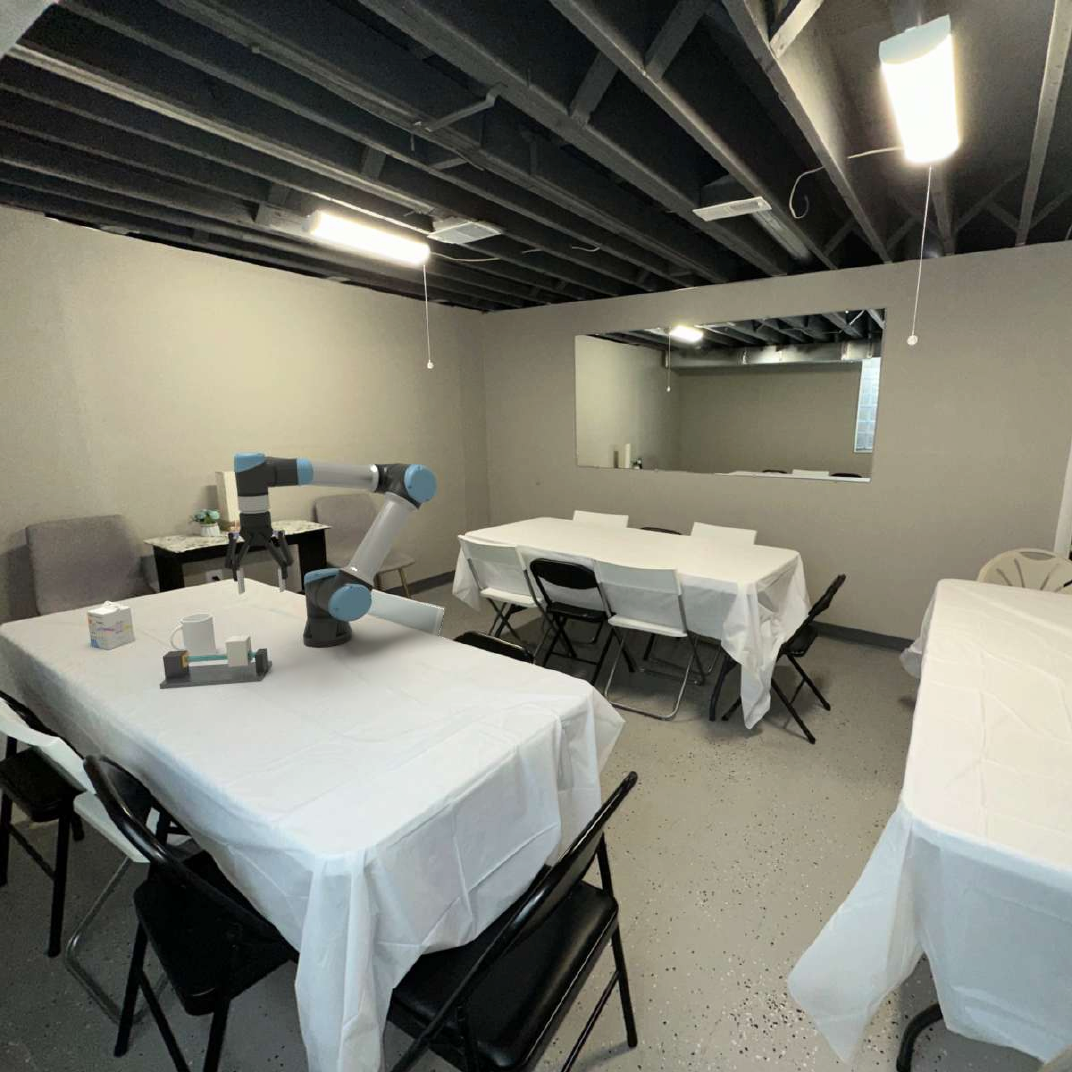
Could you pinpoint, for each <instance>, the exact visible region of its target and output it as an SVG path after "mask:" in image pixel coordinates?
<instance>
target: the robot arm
mask: <svg viewBox="0 0 1072 1072" xmlns="http://www.w3.org/2000/svg"><path fill="white" fill-rule="evenodd" d="M233 469H234V470H233V471H234V472H233V473H234V478H235V486H236V487H235V488H236V495H237V496H236V497H237V507H238V511H239V514H238V517H239V526H240V529H239V531H234V530H232V531H230V532H229V533H227V538H228V546H227V549H226V555H225V562H224V565H223V567H224V569H230V570H231V571H232V575H233V577H232V578H233V581H234V582H236V583H237V589H238V594H239V595H242V594H244V593H245V592H246V585H245V578H244V577H245V575H244V568H242V567H241V565H242V563H243V561H244V559H245V557H246V554H247V552H248V551H249V550H250V549H249V548H251V547H256V546H259V547H260V546H261V547H263V546H264V547H265V549H267V550H268V552H269V554H270V555H271V556H272V557H273V558H274V560H275V561H276V562H277V564H278V565H279V567H278V568H277V574H278V576H277V577H278V586H279V593H283V592H284V591H285V590H286V582H285V580H287V579H288V577H289V572H288V567H290V566H292V565H293V564H294V563H295V560H294V557H293V555H292V552H291V550H290V547H289V545H288V542H287V539H286V531H285V530H284V529H281V530H276V529H275V530H274V529H273V527H272V518H271V512H270V511H269V510H270V508H271V507H270V505H271V504H270V497H269V493H270V492H269V488H281V487H282V488H283V487H301V486H311V487H312V486H314V487H315V486H316V487H328V488H329V487H330V488H341V489H344V488H345V489H355V490H357V489H359V490H366V491H367V493H370V494H371V493H372V494H379V495H384V496H385V499H386V500H385V502H384V504H383V505H382V507H381V509H380V510H379V512H378V514H377V515H376V517H375V519H374V520H373V523H372V524H371V526H370V527H369V529H368V530H367V532H366V534H365V536H364V538H363V539H362V541H361V543H360V544H359V546H358V548H357V549H356V551H355V552H354V555H353V556H352V558H351V560H350V562H348V565H347V566H345V567H341V568H337V567H335V568H324V569H322V568H321V569H317V570H312V571H309V572H307V573H305V575H304V577H303V578H304V579H303V581H304V582H303V586H304V595H305V605H306V606H305V607H306V615H307V617H306V622H305V626H304V631H303V635H302V641H303V644H304V645H305V646H308V647H313V648H327V647H332V646H333V647H334V646H338V645H339V646H340V645H341V644H345V643H346V642H348V641H350V640H351V639H353V628H352V625H351V624H350V623H351V622H354V621H358V620H360V619H361V618H363V617H364V616H365V615H366V614H368V612H369V611H370V608H371V605H372V604H373V603H372V602H373V600H372V591H373V589H375V582H374V578H375V576H376V575H377V573H378V571H379V569H380V568H381V565H383V563H384V561H385V559H386V557H387V556H388V554H389V552H390V550H391V549H392V547H393V544H394V543H395V541H396V539H398V536H399V534H400V533H401V531H402V530H403V528H404V526H405V525H406V522H408V519H409V517H410V515H411V514H414V513H418V511H419V510H420V508H421V506H422V504H423V503H424V504H425V503H427V502H429V501H431V500H432V499H433V498H434V497H435V494H436V492H437V489H438V488H437V487H438V483H437V481H436V476H435V474H434V472H433V471H432V470H431V469H430V468H428V467H427V466H425V465H421V464H418V463H416V464H415V463H413V464H410V463H408V464H407V463H397V462H396V463H369V464H367V465H357V464H349V463H348V464H347V463H337V462H328V461H327V462H326V461H316V460H309V459H308V458H304V457H303V458H299V457H296V458H294V457H293V458H286V457H276V456H269V455H268V456H266V455H265V453H264V452H238V453H236V454H235V455H234V457H233ZM273 535H274V536H275V538H276V539H277V541H278V544H279V547H280V549H281V552H282V554H281V553H280V551H279V550H278V549H277V547H276V545H275V544H274V542H273V540H272V539H271V538H272V537H273ZM239 538H241V539H242V540H243V541H244V542H243V544H242V545H241V548H240V551H239V553H237V557H236V559H235V560H234V557H235V551H236V549H237V548H236V547H237V540H238V539H239ZM282 555H283V556H282ZM233 562H234V563H233Z"/></svg>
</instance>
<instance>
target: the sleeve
mask: <svg viewBox="0 0 1072 1072" xmlns="http://www.w3.org/2000/svg"><path fill="white" fill-rule="evenodd" d="M225 648H226V654H227V659H228V660H227V664H228V667H233V666H247V665H249V663H250V662H253V659H254V658H248V653H249V652H253V651H252V649H253V648H252V641H251V634H250V635H249V634H247V635H232V636H230V637H229V638H228V639H227V640H226V641H225Z"/></svg>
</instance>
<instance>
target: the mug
mask: <svg viewBox="0 0 1072 1072" xmlns="http://www.w3.org/2000/svg"><path fill="white" fill-rule="evenodd" d="M180 623H181V624H180V625H179V626H177V627H176V628H175V629H173V631H172V633H171V634H170V638H169V640H170V642H169V643H170V645H171V647H173V649H174V650H175V651H183V650H187V652H189V656H203V655H218V654H217V653H218V650H217V647H216V646H217V645H216V638H215V629H214V628H215V627H214V620H213V615H212V614H211V613H208V612H207V613H206V612H204V613H203V612H202V613H201V612H200V613H195V614H189V615H187V616H184V617H182V618H181V619H180ZM179 630H181V631H182V637H183V639H182V641H183V647H178V646H177V645H175V644H174V640H173V638H174V636H175V635H176V633H177V632H178V631H179Z"/></svg>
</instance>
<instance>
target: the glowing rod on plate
mask: <svg viewBox="0 0 1072 1072" xmlns="http://www.w3.org/2000/svg"><path fill="white" fill-rule="evenodd" d="M248 658H253V659H254V661H251V662H250V663H249V665H247V666H233V667H228V663H222V664H218V663H217V664H209V665H207V664H205V665H194V666H193V665H192V666H190V665H189V664H190V663H195V662H199V663H200V662H212V661H213V662H214V661H228V659H227V653H221V654H219V653H218V654H216V655H203V656H189V652H187V650H183V651H179V650H172V651H168V652H167V653H166V654H165V655H163V657H162V661H163V668H164V676H165V678H164V680H163V681H162V682H161V683H159V688H160V689H170V688H171V689H174V688H188V687H200V686H211V685H212V686H213V685H224V684H225V685H226V684H239V683H243V684H244V683H252V682H262V680H263V679H264V678H265V676H266V674H267V673H268V672H269V670H270V669H271V668H272V665H273V662H272V660H269V656H268V648H266V647H265V648H259V649H258V650H257V651H252V652H249V653H248Z"/></svg>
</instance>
